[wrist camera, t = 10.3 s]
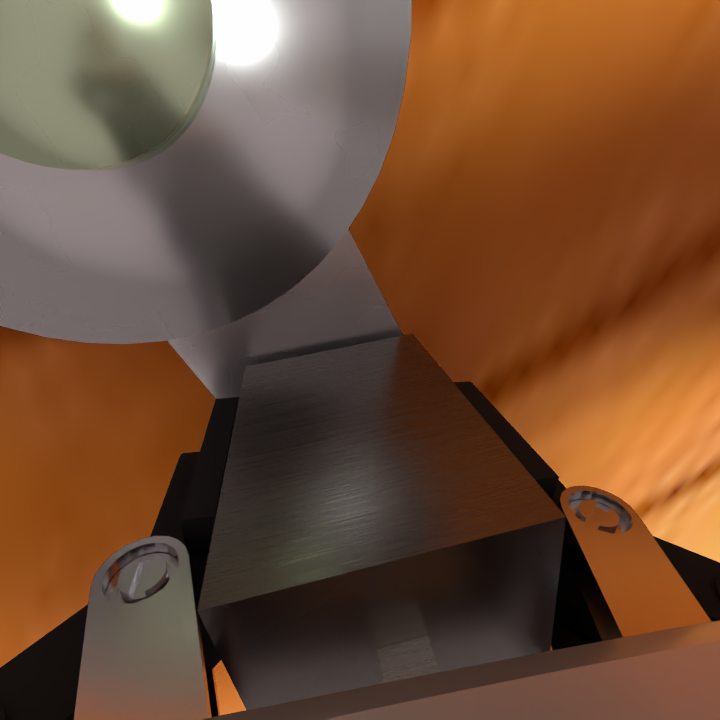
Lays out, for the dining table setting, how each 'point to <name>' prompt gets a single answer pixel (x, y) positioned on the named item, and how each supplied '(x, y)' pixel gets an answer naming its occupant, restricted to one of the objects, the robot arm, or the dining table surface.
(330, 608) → the knob
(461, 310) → the dining table surface
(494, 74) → the dining table surface
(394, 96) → the tribrach base
